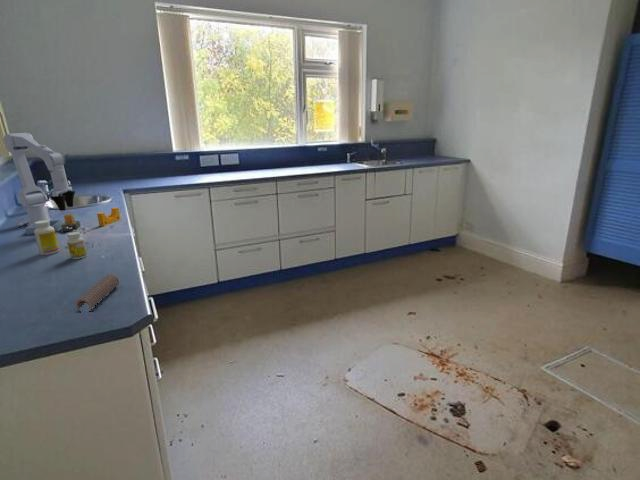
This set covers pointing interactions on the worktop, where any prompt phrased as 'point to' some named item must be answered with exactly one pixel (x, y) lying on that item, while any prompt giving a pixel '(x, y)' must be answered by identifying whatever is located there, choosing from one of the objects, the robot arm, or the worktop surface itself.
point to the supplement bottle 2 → (76, 245)
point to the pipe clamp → (108, 217)
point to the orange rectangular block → (69, 218)
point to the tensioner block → (70, 226)
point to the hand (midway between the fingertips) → (66, 208)
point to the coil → (98, 291)
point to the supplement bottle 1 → (46, 238)
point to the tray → (55, 224)
